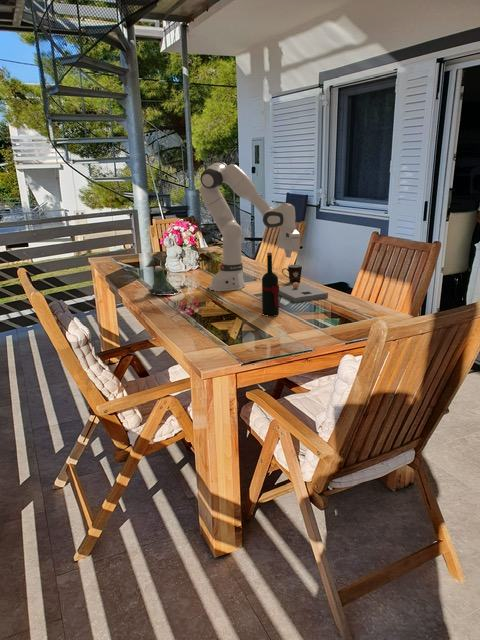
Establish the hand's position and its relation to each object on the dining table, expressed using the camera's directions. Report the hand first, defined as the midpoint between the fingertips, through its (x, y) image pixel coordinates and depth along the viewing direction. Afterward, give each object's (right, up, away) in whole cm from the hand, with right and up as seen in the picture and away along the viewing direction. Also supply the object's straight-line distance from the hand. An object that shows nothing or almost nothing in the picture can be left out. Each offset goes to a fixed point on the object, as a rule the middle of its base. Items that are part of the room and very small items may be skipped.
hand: (288, 257), depth 272 cm
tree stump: (-71, -20, +9) cm, 74 cm away
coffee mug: (+5, -12, +23) cm, 27 cm away
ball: (+4, -16, -4) cm, 17 cm away
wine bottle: (-12, -33, -40) cm, 53 cm away
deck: (+6, -22, -7) cm, 23 cm away
